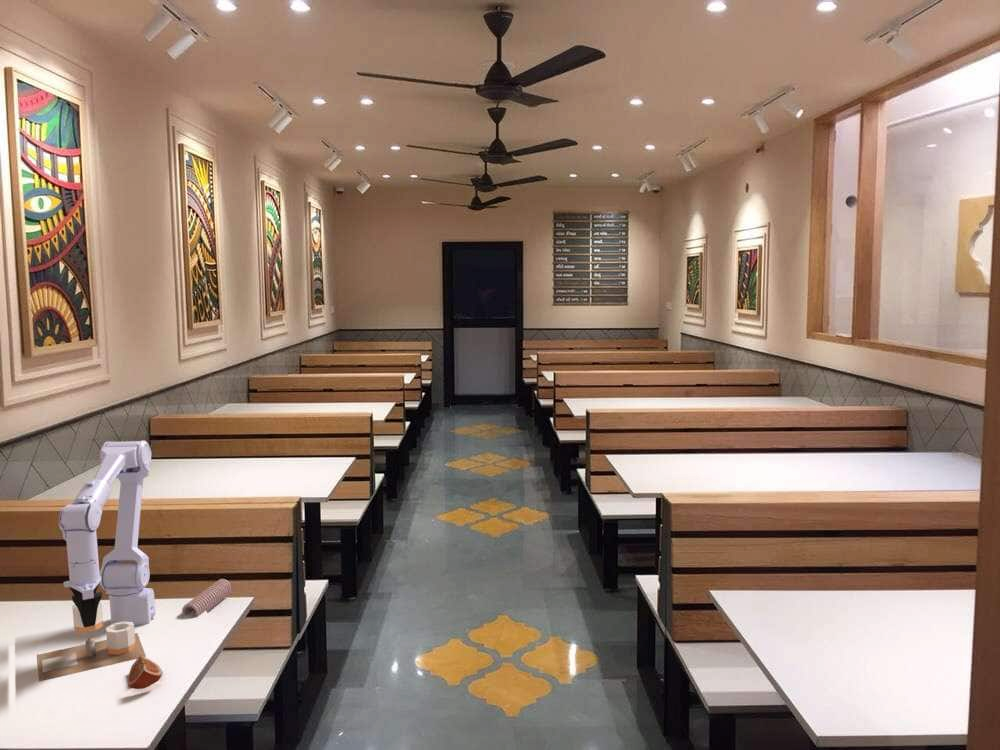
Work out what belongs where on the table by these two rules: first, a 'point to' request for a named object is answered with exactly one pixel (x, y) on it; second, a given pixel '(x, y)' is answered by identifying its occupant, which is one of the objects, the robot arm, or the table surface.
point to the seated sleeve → (120, 638)
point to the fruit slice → (143, 673)
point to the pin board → (82, 658)
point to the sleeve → (79, 625)
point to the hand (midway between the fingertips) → (88, 620)
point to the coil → (208, 597)
